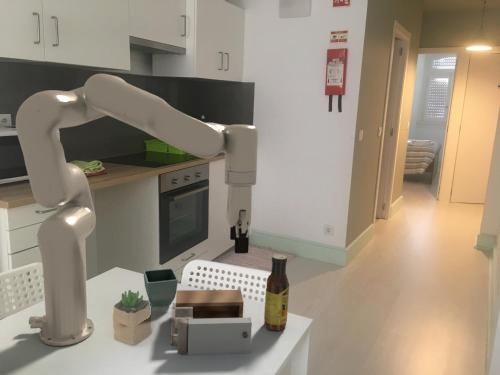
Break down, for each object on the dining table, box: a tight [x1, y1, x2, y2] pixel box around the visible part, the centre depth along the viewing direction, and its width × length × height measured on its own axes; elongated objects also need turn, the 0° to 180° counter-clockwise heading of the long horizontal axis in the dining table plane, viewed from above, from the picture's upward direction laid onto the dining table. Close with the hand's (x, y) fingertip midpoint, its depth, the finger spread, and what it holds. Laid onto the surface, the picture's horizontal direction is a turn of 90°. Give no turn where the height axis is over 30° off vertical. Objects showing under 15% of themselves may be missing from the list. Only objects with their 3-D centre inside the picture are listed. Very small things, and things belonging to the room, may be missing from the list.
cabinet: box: [175, 289, 245, 319], centre depth 115 cm, size 18×8×7 cm, turn 97°
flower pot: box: [143, 267, 179, 308], centre depth 123 cm, size 9×9×9 cm
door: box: [177, 317, 253, 356], centre depth 100 cm, size 17×3×8 cm, turn 97°
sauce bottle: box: [263, 253, 290, 332], centre depth 112 cm, size 6×6×20 cm
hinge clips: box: [170, 302, 193, 346], centre depth 106 cm, size 5×8×7 cm, turn 7°
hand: (238, 245), depth 102 cm, fingers open, 9 cm apart
